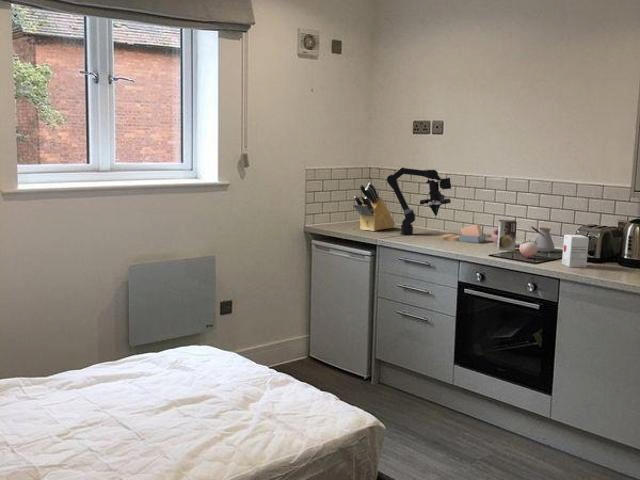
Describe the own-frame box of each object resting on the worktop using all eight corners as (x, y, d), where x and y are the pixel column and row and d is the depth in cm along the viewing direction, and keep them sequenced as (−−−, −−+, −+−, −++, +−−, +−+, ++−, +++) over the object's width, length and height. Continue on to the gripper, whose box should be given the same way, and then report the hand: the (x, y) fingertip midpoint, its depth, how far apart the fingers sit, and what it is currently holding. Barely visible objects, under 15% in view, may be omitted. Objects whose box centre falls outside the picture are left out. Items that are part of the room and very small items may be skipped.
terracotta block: (460, 228, 424) (476, 224, 419) (463, 227, 430) (479, 223, 425) (463, 240, 424) (479, 236, 419) (466, 238, 430) (482, 234, 425)
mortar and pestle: (488, 245, 408) (490, 225, 407) (493, 243, 419) (494, 223, 417) (510, 247, 403) (511, 227, 401) (514, 245, 414) (515, 225, 412)
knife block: (351, 231, 451) (353, 182, 446) (380, 226, 479) (382, 180, 474) (366, 233, 444) (368, 183, 440) (395, 228, 472) (397, 181, 468)
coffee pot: (538, 249, 402) (540, 222, 400) (557, 252, 394) (560, 225, 392) (519, 252, 387) (521, 225, 385) (538, 255, 379) (540, 227, 377)
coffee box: (513, 248, 401) (515, 220, 398) (515, 250, 394) (517, 221, 392) (496, 247, 401) (498, 219, 399) (498, 249, 395) (500, 220, 393)
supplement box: (561, 263, 356) (563, 234, 354) (578, 264, 357) (581, 234, 355) (568, 267, 347) (571, 236, 345) (586, 267, 348) (589, 237, 346)
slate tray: (458, 241, 421) (459, 234, 421) (465, 238, 434) (465, 232, 433) (478, 243, 416) (479, 236, 415) (485, 240, 428) (485, 234, 428)
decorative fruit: (524, 259, 364) (526, 240, 363) (516, 257, 372) (517, 238, 371) (541, 259, 367) (542, 240, 366) (532, 256, 375) (533, 237, 373)
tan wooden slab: (438, 239, 427) (438, 236, 427) (445, 236, 439) (445, 233, 439) (458, 241, 422) (458, 238, 421) (464, 238, 434) (465, 235, 434)
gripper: (454, 188, 437) (456, 213, 439) (427, 189, 449) (429, 214, 451) (445, 190, 428) (446, 216, 430) (418, 191, 440) (420, 216, 442)
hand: (436, 215), depth 438 cm, fingers closed
